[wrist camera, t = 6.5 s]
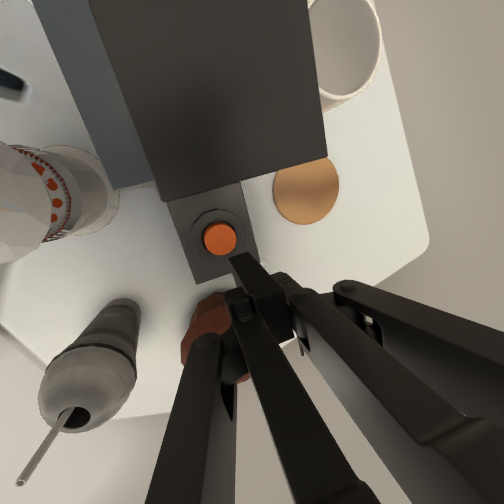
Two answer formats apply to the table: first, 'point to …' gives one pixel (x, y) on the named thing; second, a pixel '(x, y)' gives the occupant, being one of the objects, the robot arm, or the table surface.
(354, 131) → the table surface
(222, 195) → the power switch
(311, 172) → the disc
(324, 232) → the table surface
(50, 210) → the french press
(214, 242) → the power button
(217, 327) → the muffin
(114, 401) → the beverage cup
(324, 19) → the drinking glass
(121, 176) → the coffee maker
